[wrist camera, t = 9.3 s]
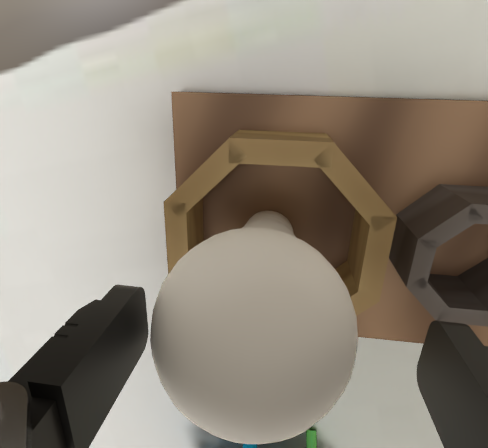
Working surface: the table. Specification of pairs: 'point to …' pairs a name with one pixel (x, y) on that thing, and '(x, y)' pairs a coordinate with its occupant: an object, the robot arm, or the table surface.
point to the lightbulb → (254, 333)
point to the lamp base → (316, 199)
